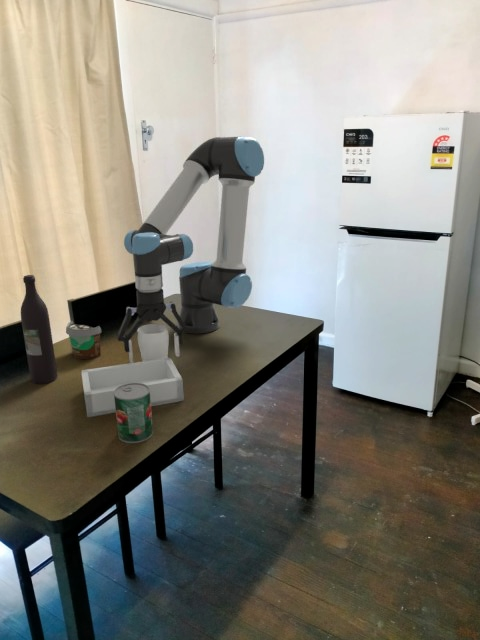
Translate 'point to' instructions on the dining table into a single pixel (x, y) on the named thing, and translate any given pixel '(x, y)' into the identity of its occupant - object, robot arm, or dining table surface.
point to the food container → (84, 340)
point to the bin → (151, 373)
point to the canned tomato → (133, 412)
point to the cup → (153, 341)
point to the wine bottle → (37, 335)
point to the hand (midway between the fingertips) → (154, 358)
